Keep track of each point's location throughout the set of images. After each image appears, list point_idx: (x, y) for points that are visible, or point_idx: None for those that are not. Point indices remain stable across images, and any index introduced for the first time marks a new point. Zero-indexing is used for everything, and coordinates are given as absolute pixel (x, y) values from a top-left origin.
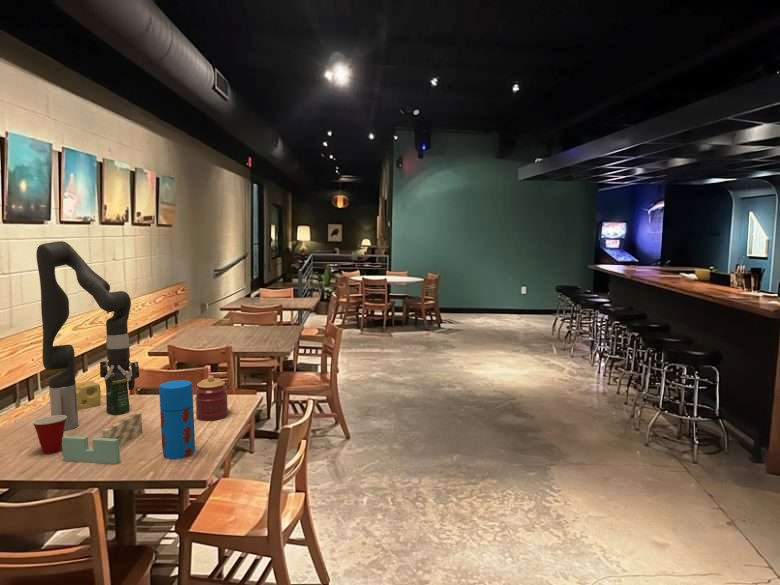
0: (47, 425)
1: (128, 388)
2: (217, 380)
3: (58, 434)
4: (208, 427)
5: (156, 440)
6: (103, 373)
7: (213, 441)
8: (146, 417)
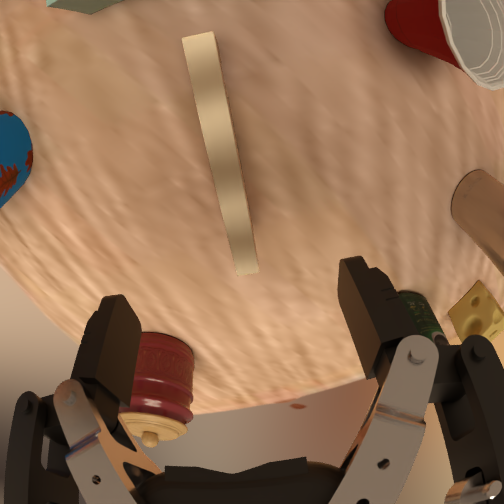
0: None
1: (114, 304)
2: (138, 434)
3: (411, 1)
4: (98, 306)
5: (128, 191)
6: (471, 392)
7: (12, 245)
8: (313, 309)
